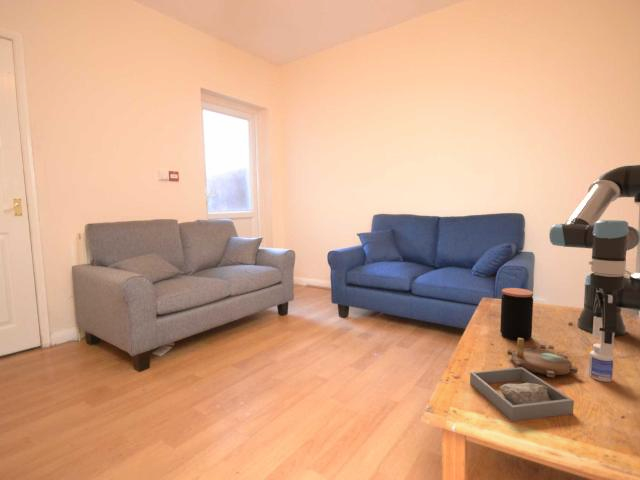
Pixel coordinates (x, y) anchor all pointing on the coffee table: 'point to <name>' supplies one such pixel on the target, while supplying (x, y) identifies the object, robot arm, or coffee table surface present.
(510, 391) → the decorative stone
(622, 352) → the coffee table surface
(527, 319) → the coffee jar
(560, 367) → the turntable
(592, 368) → the pill bottle
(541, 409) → the stone tray
